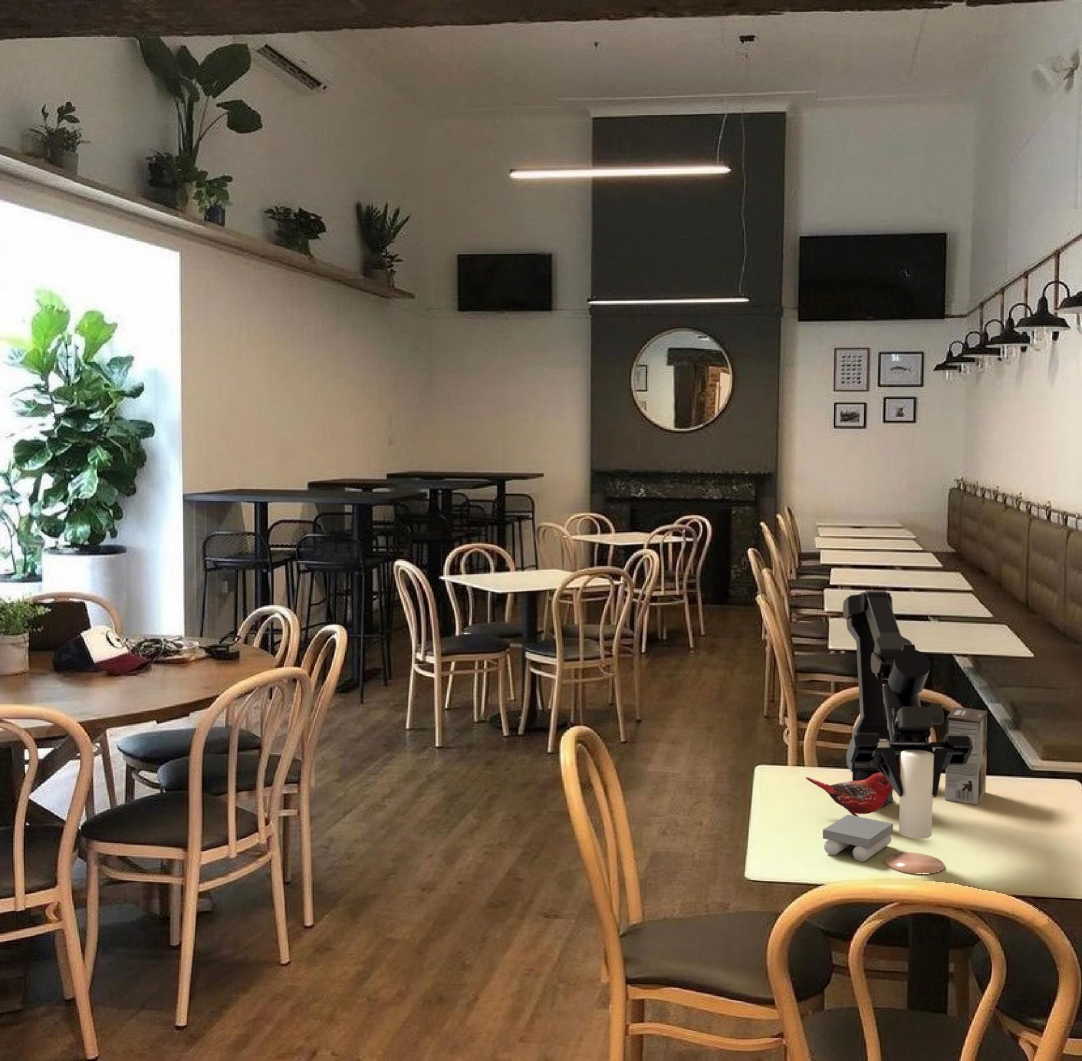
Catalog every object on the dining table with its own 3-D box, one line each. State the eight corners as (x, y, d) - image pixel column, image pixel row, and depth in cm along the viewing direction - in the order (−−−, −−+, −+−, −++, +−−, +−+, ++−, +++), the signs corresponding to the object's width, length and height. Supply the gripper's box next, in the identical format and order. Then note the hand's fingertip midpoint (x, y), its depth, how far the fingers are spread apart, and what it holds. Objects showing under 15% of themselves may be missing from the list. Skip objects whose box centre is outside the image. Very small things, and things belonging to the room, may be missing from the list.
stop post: (892, 832, 196) (894, 752, 195) (912, 826, 199) (914, 748, 198) (918, 840, 192) (920, 759, 191) (938, 834, 195) (940, 754, 194)
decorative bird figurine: (893, 832, 212) (894, 776, 211) (801, 812, 223) (802, 758, 222) (900, 828, 214) (901, 772, 213) (808, 808, 225) (809, 755, 225)
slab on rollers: (822, 853, 201) (822, 829, 201) (847, 837, 209) (847, 814, 209) (868, 863, 197) (869, 839, 196) (892, 846, 204) (893, 823, 204)
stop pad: (876, 866, 195) (876, 863, 195) (897, 851, 202) (898, 848, 202) (932, 878, 190) (932, 876, 190) (952, 862, 197) (952, 860, 197)
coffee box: (951, 787, 238) (953, 706, 237) (986, 792, 235) (988, 709, 234) (943, 800, 230) (945, 716, 229) (979, 805, 227) (981, 719, 226)
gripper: (854, 684, 198) (866, 769, 188) (971, 685, 197) (990, 771, 187) (844, 720, 207) (855, 803, 197) (956, 721, 206) (973, 805, 196)
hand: (918, 795), depth 194 cm, fingers closed on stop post, 5 cm apart
